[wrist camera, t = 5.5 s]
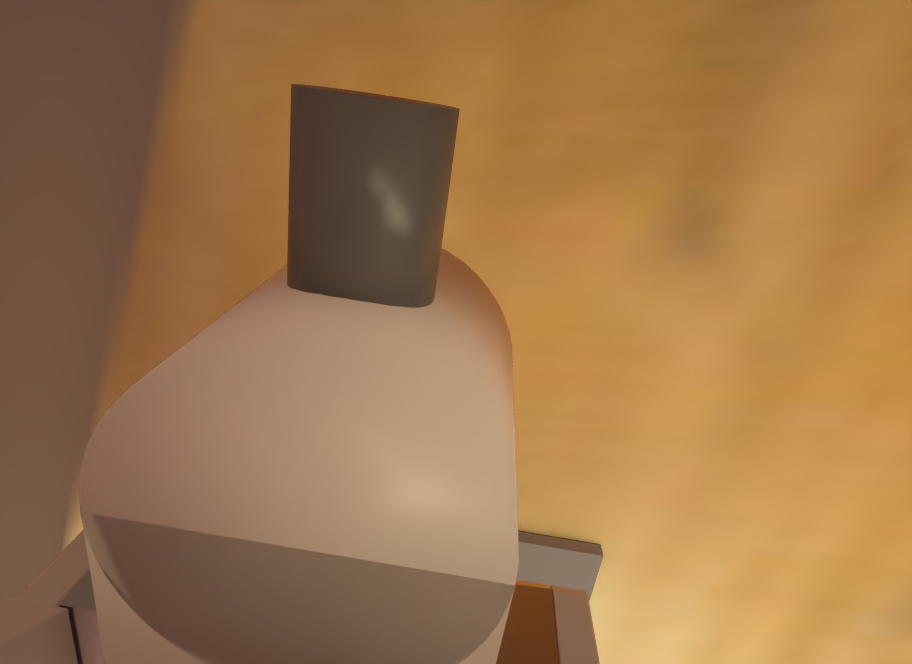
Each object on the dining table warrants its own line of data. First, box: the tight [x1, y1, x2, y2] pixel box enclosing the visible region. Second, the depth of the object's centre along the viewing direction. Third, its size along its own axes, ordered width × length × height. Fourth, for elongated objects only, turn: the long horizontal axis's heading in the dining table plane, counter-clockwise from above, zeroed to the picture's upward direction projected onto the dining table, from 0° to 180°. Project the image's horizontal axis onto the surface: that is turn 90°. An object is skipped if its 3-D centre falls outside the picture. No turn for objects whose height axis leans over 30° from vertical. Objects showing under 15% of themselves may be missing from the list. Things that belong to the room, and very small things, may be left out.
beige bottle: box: [79, 84, 519, 664], centre depth 8 cm, size 14×4×4 cm, turn 172°
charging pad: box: [516, 531, 603, 600], centre depth 24 cm, size 12×12×1 cm
